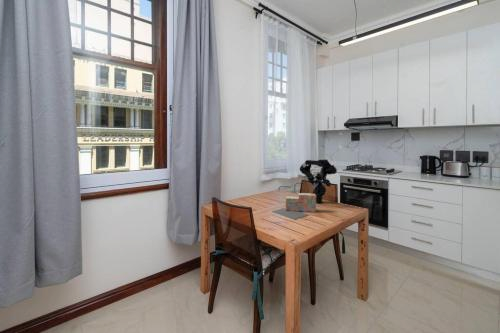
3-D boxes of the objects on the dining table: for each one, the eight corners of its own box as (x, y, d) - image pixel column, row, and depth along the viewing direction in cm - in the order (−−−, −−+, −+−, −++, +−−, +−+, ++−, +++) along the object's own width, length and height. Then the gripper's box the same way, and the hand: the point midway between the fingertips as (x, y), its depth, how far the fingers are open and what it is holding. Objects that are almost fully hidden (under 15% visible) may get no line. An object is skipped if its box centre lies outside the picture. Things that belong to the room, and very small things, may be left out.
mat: (285, 208, 184) (285, 207, 184) (308, 215, 167) (308, 214, 167) (271, 211, 176) (271, 211, 176) (294, 219, 158) (294, 218, 158)
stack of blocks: (285, 210, 176) (286, 194, 175) (285, 208, 182) (285, 192, 181) (315, 212, 174) (316, 195, 173) (314, 209, 180) (314, 193, 179)
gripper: (309, 166, 195) (299, 181, 189) (329, 168, 180) (319, 185, 174) (314, 175, 200) (305, 190, 195) (334, 178, 186) (325, 194, 180)
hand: (313, 189), depth 186 cm, fingers closed
